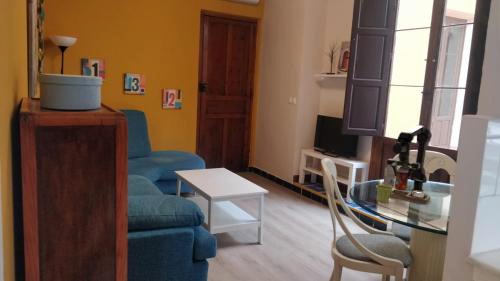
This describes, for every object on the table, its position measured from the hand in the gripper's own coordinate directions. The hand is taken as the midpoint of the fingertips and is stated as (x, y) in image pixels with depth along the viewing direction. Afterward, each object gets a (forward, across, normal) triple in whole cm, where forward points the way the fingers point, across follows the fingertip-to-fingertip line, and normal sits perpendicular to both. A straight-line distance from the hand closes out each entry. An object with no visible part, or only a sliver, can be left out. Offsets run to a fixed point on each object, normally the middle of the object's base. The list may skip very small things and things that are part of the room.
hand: (401, 177), depth 247 cm
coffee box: (+12, -15, +29) cm, 35 cm away
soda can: (+8, 0, 0) cm, 8 cm away
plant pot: (+12, -5, -19) cm, 23 cm away
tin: (+12, +10, 0) cm, 16 cm away
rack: (+12, +5, 0) cm, 13 cm away
